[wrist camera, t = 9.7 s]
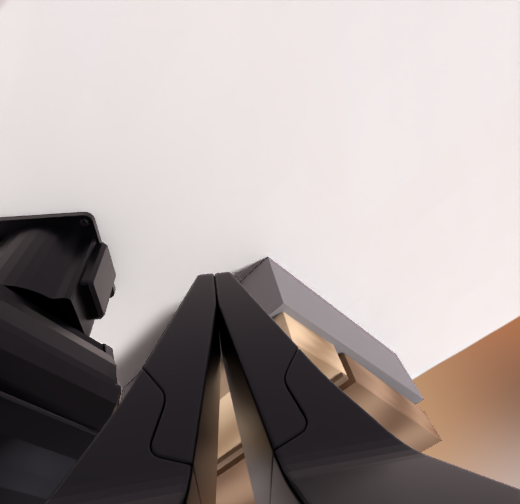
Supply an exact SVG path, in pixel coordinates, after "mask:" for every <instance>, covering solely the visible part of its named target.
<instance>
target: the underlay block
mask: <svg viewBox="0 0 520 504" xmlns="http://www.w3.org/2000/svg"><path fill="white" fill-rule="evenodd" d="M240 284H241V285H242V286H243V287H244V288H245V289H246V290H247V291H248V292H249V293H250V295H251V296H252V297H253V298H254V299H255V300H256V301H257V302H258V303H259V304H260V306H261V307H262V308H263V309H264V310H265V311H266V312H267V313H268V314H269V315H270V316H271V318H272V319H275V318H276V317H277V316H278V315H279V314H281V313H282V312H284V313H286V314H287V315H289V316H290V317H292V318H293V319H295V320H296V321H298V322H299V323H301V324H302V325H304V326H305V327H307V328H308V329H310V330H311V331H313V332H314V333H316V334H317V335H319V336H320V337H322V338H323V339H325V340H326V341H328V342H330V343H331V344H333V345H334V347H335V349H336V352H337V354H338V356H340V355H341V354H342V353H345V354H346V355H348V356H349V357H350V358H352V359H353V360H355V361H356V362H357V363H359V364H360V365H361V366H363V367H364V368H365V369H367V370H368V371H370V372H371V373H372V374H374V375H375V376H376V377H378V378H379V379H381V380H382V381H383V382H385V383H386V384H387V385H389V386H390V387H392V388H393V389H394V390H396V391H397V392H398V393H400V394H401V395H403V396H404V397H405V398H407V399H408V400H409V401H411V402H412V403H413V404H415V405H416V404H417V403H419V402H421V401H422V400H423V399H424V398H423V397H422V395H421V394H420V392H419V391H418V389H417V387H416V386H415V384H414V383H413V381H412V379H411V378H410V376H409V374H408V373H407V371H406V370H405V368H404V366H403V365H402V363H401V361H400V360H399V358H398V357H397V355H396V354H395V353H394V352H392V351H391V350H390V349H388V348H387V347H386V346H384V345H383V344H382V343H380V342H379V341H378V340H376V339H375V338H374V337H373V336H371V335H370V334H369V333H367V332H366V331H365V330H363V329H362V328H361V327H359V326H358V325H357V324H355V323H354V322H353V321H352V320H350V319H349V318H348V317H346V316H345V315H344V314H342V313H341V312H340V311H338V310H337V309H336V308H334V307H333V306H332V305H331V304H329V303H328V302H327V301H325V300H324V299H323V298H321V297H320V296H319V295H317V294H316V293H315V292H313V291H312V290H311V289H310V288H308V287H307V286H306V285H304V284H303V283H302V282H300V281H299V280H298V279H296V278H295V277H294V276H292V275H291V274H290V273H288V272H287V271H286V270H285V269H283V268H282V267H281V266H279V265H278V264H277V263H275V262H274V261H273V260H271V259H270V258H269V257H267V258H266V259H265V260H264V261H263V262H262V263H261V264H260V265H259V266H257V267H256V268H255V269H254V270H253V271H252V272H251V273H250V274H249V275H248V276H246V277H245V278H244V279H243V280H242V281H241V282H240ZM219 334H220V333H219ZM220 346H221V344H220ZM221 362H223V359H222V353H221ZM137 376H138V375H137ZM137 376H136V377H137ZM136 377H135V378H134V379H133V380H132V381H131V382H130V383H129V384H127V385H126V386H125V387H124V388H123V393H122V398H121V401H122V399H123V398H124V396H125V395H126V393H127V392H128V390H129V389H130V387H131V386H132V384H133V382H134V381H135V379H136Z"/></svg>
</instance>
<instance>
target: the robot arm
mask: <svg viewBox="0 0 520 504" xmlns="http://www.w3.org/2000/svg"><path fill="white" fill-rule="evenodd" d="M82 219H87V220H88V221H89V223H84V222H83V221H82ZM115 277H116V274H115V270H114V267H113V263H112V260H111V256H110V253H109V249H108V246H107V245H106V244H105V243H103V242H102V241H101V238H100V235H99V231H98V228H97V224H96V221H95V218H94V216H93V215H92V214H90V213H88V212H77V213H62V214H47V215H32V216H17V217H2V218H0V504H216V484H217V458H218V432H219V406H220V379H221V353H222V359H223V364H224V369H225V373H226V377H227V382H228V386H229V390H230V395H231V399H232V403H233V408H234V412H235V416H236V421H237V425H238V430H239V434H240V438H241V443H242V447H243V451H244V456H245V460H246V464H247V469H248V473H249V477H250V482H251V486H252V490H253V495H254V499H255V504H520V489H518V488H515V487H512V486H509V485H507V484H504V483H501V482H498V481H495V480H493V479H490V478H487V477H485V476H482V475H479V474H477V473H474V472H471V471H468V470H466V469H463V468H460V467H458V466H455V465H452V464H449V463H447V462H444V461H441V460H438V459H436V458H433V457H430V456H428V455H425V454H423V453H421V452H419V451H417V450H415V449H414V448H412V447H410V446H409V445H407V444H405V443H404V442H402V441H401V440H400V439H398V438H397V437H396V436H394V435H393V434H392V433H391V432H389V431H388V430H387V429H386V428H385V427H384V426H382V425H381V424H380V423H379V422H378V421H377V420H375V419H374V418H373V417H372V416H371V415H370V414H369V413H367V412H366V411H365V410H364V409H363V408H362V407H360V406H359V405H358V404H357V403H356V402H355V401H354V400H352V399H351V398H350V397H349V396H348V395H347V394H345V393H344V392H343V391H342V390H341V389H340V388H339V387H338V386H337V385H335V384H334V383H333V382H332V381H331V380H330V379H329V378H328V377H327V376H326V375H324V374H323V373H322V371H321V370H320V369H319V368H318V367H317V366H316V365H315V364H314V363H313V362H312V361H311V360H310V359H309V358H308V357H307V356H306V355H305V354H304V352H303V351H302V350H301V349H299V348H298V346H297V345H296V344H295V343H294V342H293V341H292V339H291V338H290V337H289V336H288V335H287V334H286V333H285V332H284V331H283V330H282V329H281V327H280V326H279V325H278V324H277V323H276V322H275V321H274V320H273V319H272V318H271V316H270V315H269V314H268V313H267V312H266V311H265V310H264V309H263V308H262V307H261V306H260V304H259V303H258V302H257V301H256V300H255V299H254V298H253V297H252V296H251V295H250V293H249V292H248V291H247V290H246V289H245V288H244V287H243V286H242V285H241V284H240V282H239V281H238V280H237V279H236V278H235V277H234V276H233V275H232V274H231V273H230V272H224V273H216V274H215V278H214V275H213V274H203V275H198V276H197V278H196V279H195V281H194V283H193V284H192V286H191V288H190V289H189V291H188V293H187V294H186V296H185V298H184V299H183V301H182V303H181V304H180V306H179V308H178V309H177V311H176V313H175V314H174V316H173V318H172V319H171V321H170V323H169V324H168V326H167V328H166V329H165V331H164V333H163V334H162V336H161V338H160V339H159V341H158V343H157V344H156V346H155V348H154V349H153V351H152V353H151V354H150V356H149V358H148V359H147V361H146V363H145V364H144V366H143V368H142V369H143V370H141V371H140V372H139V374H138V376H137V377H136V379H135V381H134V382H133V384H132V386H131V387H130V389H129V390H128V392H127V393H126V395H125V396H124V398H123V399H122V401H121V403H120V404H119V399H120V395H121V387H120V386H119V385H118V384H117V377H116V364H115V362H114V356H113V350H112V348H111V347H109V346H108V345H106V344H100V343H99V342H97V341H95V340H94V339H92V338H90V337H89V336H90V333H91V330H92V327H93V324H94V320H95V319H101V318H102V317H103V316H104V315H105V312H106V308H107V305H108V301H109V298H111V297H113V296H114V294H115V285H114V280H115ZM219 333H220V334H219ZM220 344H221V346H220Z"/></svg>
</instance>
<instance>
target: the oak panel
mask: <svg viewBox="0 0 520 504" xmlns="http://www.w3.org/2000/svg"><path fill="white" fill-rule="evenodd" d="M273 320H274V321H275V322H276V323H277V324H278V325H279V326H280V327H281V329H282V330H283V331H284V332H285V333H286V334H287V335H288V336H289V337H290V338H291V339H292V341H293V342H294V343H295V344H296V345H297V346H298V348H299V349H301V350H302V351H303V352H304V354H305V355H306V356H307V357H308V358H309V359H310V360H311V361H312V362H313V363H314V364H315V365H316V366H317V367H318V368H319V369H320V370H321V371H322V373H323V374H324V375H326V376H327V377H328V378H329V379H330V380H331V381H332V382H333V383H334V384H335V385H337V386H338V387H339V386H340V385H342V384H343V383H344V382H346V381H347V380H349V379H348V376H347V374H346V372H345V370H344V367H343V365H342V363H341V361H340V358H339V356H338V354H337V352H336V349H335V347H334V345H333V344H331V343H330V342H328V341H326V340H325V339H323V338H322V337H320V336H319V335H317V334H316V333H314V332H313V331H311V330H310V329H308V328H307V327H305V326H304V325H302V324H301V323H299V322H298V321H296V320H295V319H293V318H292V317H290V316H289V315H287V314H286V313H284V312H282V313H281V314H279V315H278V316H277V317H276V318H275V319H273ZM243 452H244V451H243V447H242V443H241V438H240V434H239V430H238V425H237V421H236V416H235V412H234V408H233V403H232V399H231V395H230V390H229V386H228V382H227V377H226V373H225V369H224V364H223V362H221V379H220V406H219V432H218V458H217V471H218V470H219V469H220V468H222V467H223V466H225V465H226V464H228V463H229V462H230V461H232V460H233V459H235V458H236V457H238V456H239V455H241V454H242V453H243Z"/></svg>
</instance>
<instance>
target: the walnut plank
mask: <svg viewBox="0 0 520 504" xmlns="http://www.w3.org/2000/svg"><path fill="white" fill-rule="evenodd" d="M339 358H340V361H341V363H342V365H343V367H344V370H345V372H346V374H347V376H348V379H349V380H347V381H346V382H344V383H343V384H342V385H340V386H339V388H340V389H341V390H342V391H343V392H344V393H345V394H347V395H348V396H349V397H350V398H351V399H352V400H354V401H355V402H356V403H357V404H358V405H359V406H360V407H362V408H363V409H364V410H365V411H366V412H367V413H369V414H370V415H371V416H372V417H373V418H374V419H375V420H377V421H378V422H379V423H380V424H381V425H382V426H384V427H385V428H386V429H387V430H388V431H389V432H391V433H392V434H393V435H394V436H396V437H397V438H398V439H400V440H401V441H402V442H404V443H405V444H407V445H409V446H410V447H412V448H414V449H415V450H417V451H419V452H422V451H424V450H426V449H428V448H429V447H431V446H433V445H435V444H436V443H438V442H440V441H442V440H441V438H440V436H439V435H438V433H437V431H436V430H435V428H434V426H433V424H432V423H431V421H430V419H429V417H428V416H427V414H426V412H424V411H423V410H422V409H420V408H419V407H418V406H416V405H415V404H413V403H412V402H411V401H409V400H408V399H407V398H405V397H404V396H403V395H401V394H400V393H398V392H397V391H396V390H394V389H393V388H392V387H390V386H389V385H387V384H386V383H385V382H383V381H382V380H381V379H379V378H378V377H376V376H375V375H374V374H372V373H371V372H370V371H368V370H367V369H365V368H364V367H363V366H361V365H360V364H359V363H357V362H356V361H355V360H353V359H352V358H350V357H349V356H348V355H346V354H345V353H342V354H341V355H340V356H339ZM216 504H255V499H254V495H253V490H252V486H251V482H250V477H249V473H248V469H247V464H246V460H245V456H244V452H243V453H242V454H241V455H239V456H238V457H236V458H235V459H233V460H232V461H230V462H229V463H228V464H226V465H225V466H223V467H222V468H220V469H219V470H218V471H217V484H216Z"/></svg>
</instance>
